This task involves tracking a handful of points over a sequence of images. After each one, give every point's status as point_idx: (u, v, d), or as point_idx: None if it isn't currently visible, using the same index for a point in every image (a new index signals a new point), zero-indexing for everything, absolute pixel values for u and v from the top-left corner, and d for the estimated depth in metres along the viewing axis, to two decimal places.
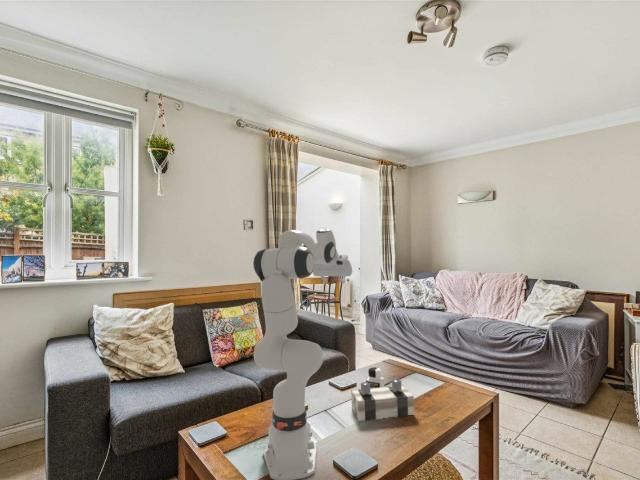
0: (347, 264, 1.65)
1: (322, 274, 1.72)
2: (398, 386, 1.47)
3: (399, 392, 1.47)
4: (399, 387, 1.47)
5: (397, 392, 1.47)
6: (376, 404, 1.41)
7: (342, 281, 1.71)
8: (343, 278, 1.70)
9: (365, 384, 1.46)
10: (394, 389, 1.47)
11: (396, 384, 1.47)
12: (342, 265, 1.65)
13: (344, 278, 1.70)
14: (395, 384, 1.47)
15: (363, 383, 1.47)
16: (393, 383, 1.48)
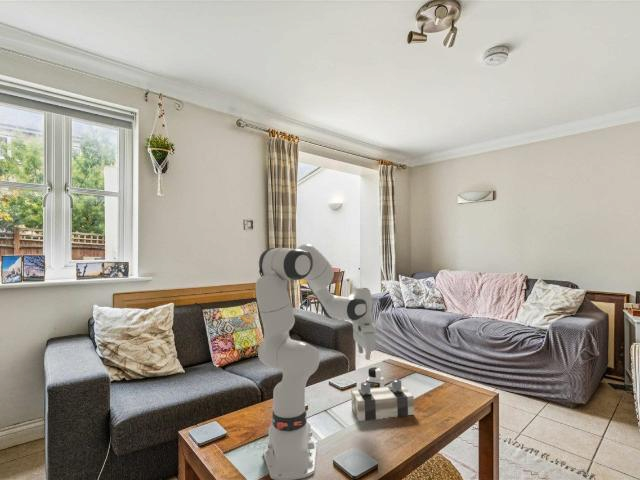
0: (367, 335, 1.40)
1: (356, 339, 1.53)
2: (398, 386, 1.47)
3: (399, 392, 1.47)
4: (399, 387, 1.47)
5: (397, 392, 1.47)
6: (376, 404, 1.41)
7: (365, 356, 1.44)
8: None
9: (365, 384, 1.46)
10: (394, 389, 1.47)
11: (396, 384, 1.47)
12: (361, 333, 1.42)
13: (366, 353, 1.43)
14: (395, 384, 1.47)
15: (363, 383, 1.47)
16: (393, 383, 1.48)
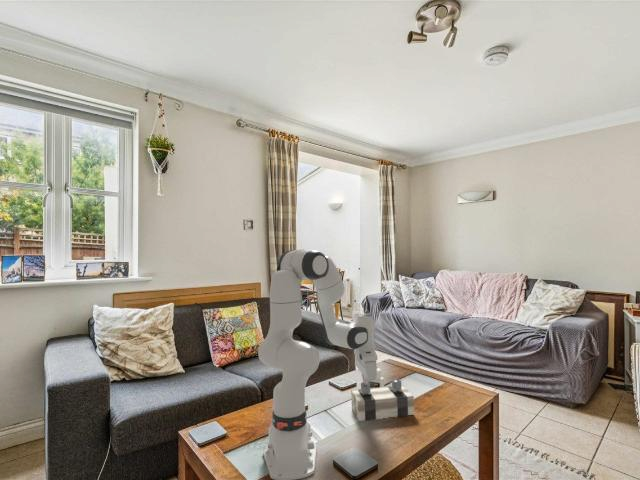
0: (368, 364, 1.38)
1: (358, 366, 1.52)
2: (398, 386, 1.47)
3: (399, 392, 1.47)
4: (399, 387, 1.47)
5: (397, 392, 1.47)
6: (376, 404, 1.41)
7: (364, 381, 1.46)
8: (364, 378, 1.46)
9: None
10: (394, 389, 1.47)
11: (396, 384, 1.47)
12: (362, 362, 1.40)
13: (364, 378, 1.45)
14: (395, 384, 1.47)
15: (363, 383, 1.47)
16: (393, 383, 1.48)
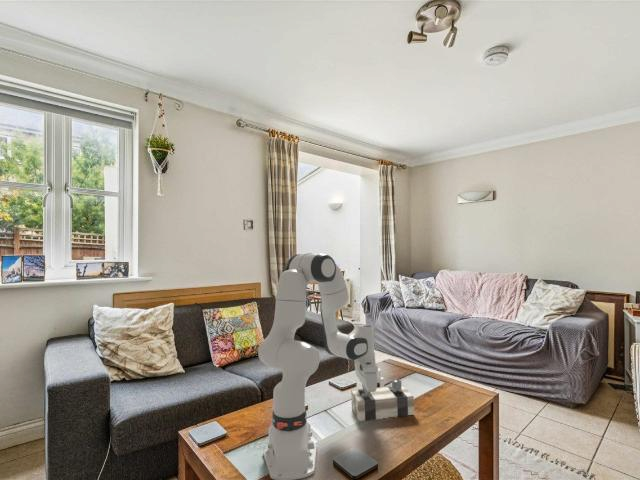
0: (368, 375, 1.38)
1: (358, 376, 1.52)
2: (398, 386, 1.47)
3: (399, 392, 1.47)
4: (399, 387, 1.47)
5: (397, 392, 1.47)
6: (376, 404, 1.41)
7: (364, 392, 1.46)
8: (364, 388, 1.45)
9: None
10: (394, 389, 1.47)
11: (396, 384, 1.47)
12: (363, 373, 1.40)
13: (364, 389, 1.45)
14: (395, 384, 1.47)
15: (363, 394, 1.47)
16: (393, 383, 1.48)
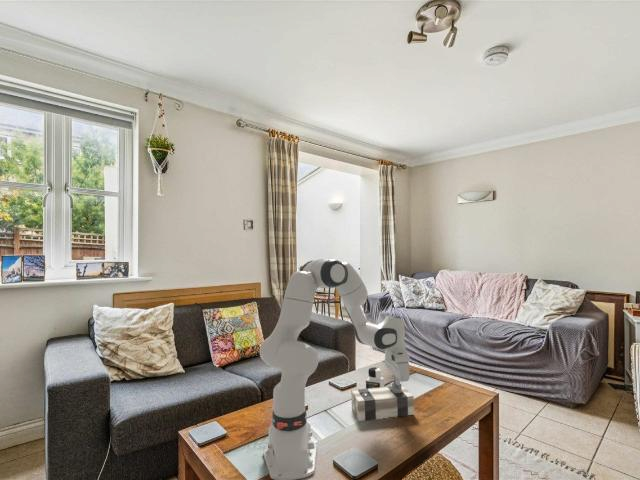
0: (400, 365, 1.40)
1: (388, 367, 1.54)
2: (398, 389, 1.47)
3: None
4: (399, 390, 1.47)
5: None
6: (376, 404, 1.41)
7: (395, 382, 1.48)
8: (395, 378, 1.48)
9: (365, 395, 1.46)
10: (394, 392, 1.47)
11: (396, 387, 1.47)
12: (395, 363, 1.42)
13: (395, 379, 1.47)
14: (395, 387, 1.47)
15: (363, 394, 1.47)
16: (393, 386, 1.48)
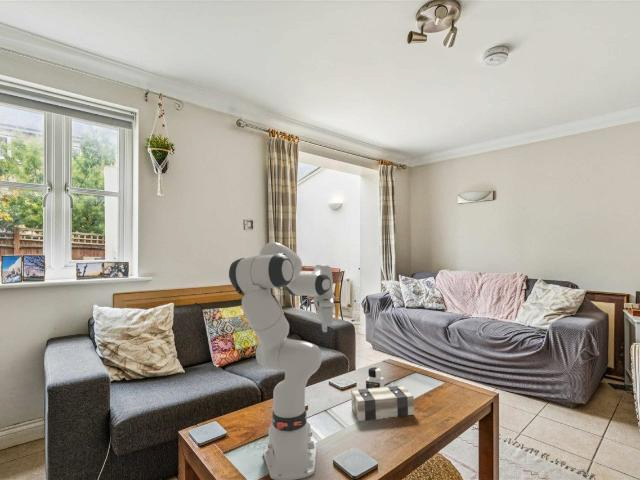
0: (324, 309, 1.45)
1: (318, 316, 1.58)
2: None
3: None
4: None
5: None
6: (376, 404, 1.41)
7: (322, 329, 1.53)
8: (322, 325, 1.52)
9: (365, 395, 1.46)
10: None
11: None
12: (320, 308, 1.47)
13: (322, 325, 1.51)
14: None
15: (363, 394, 1.47)
16: None
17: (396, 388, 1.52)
